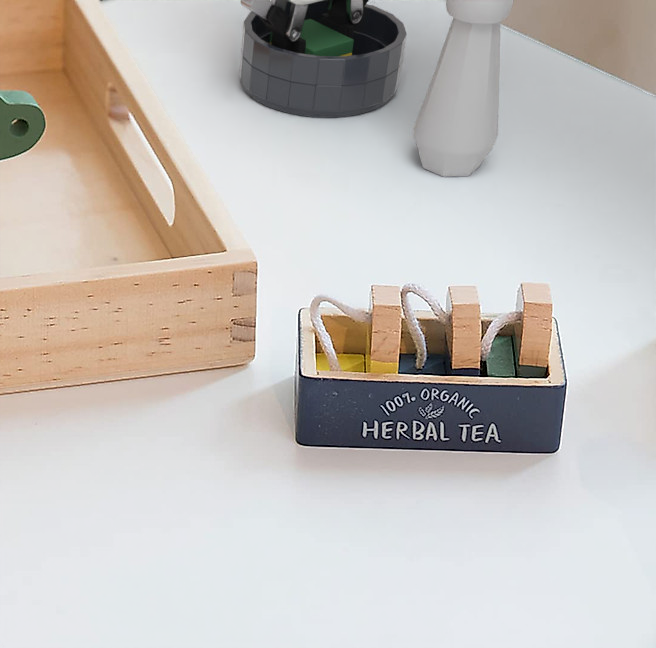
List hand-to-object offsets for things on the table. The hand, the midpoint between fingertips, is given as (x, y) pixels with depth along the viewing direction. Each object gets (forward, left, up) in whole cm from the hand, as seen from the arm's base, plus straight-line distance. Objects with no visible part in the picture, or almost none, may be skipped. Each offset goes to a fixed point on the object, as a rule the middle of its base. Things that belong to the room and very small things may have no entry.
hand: (308, 75), depth 118 cm
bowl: (-1, 0, -1) cm, 1 cm away
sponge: (0, 0, 0) cm, 0 cm away
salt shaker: (0, +16, -1) cm, 16 cm away
